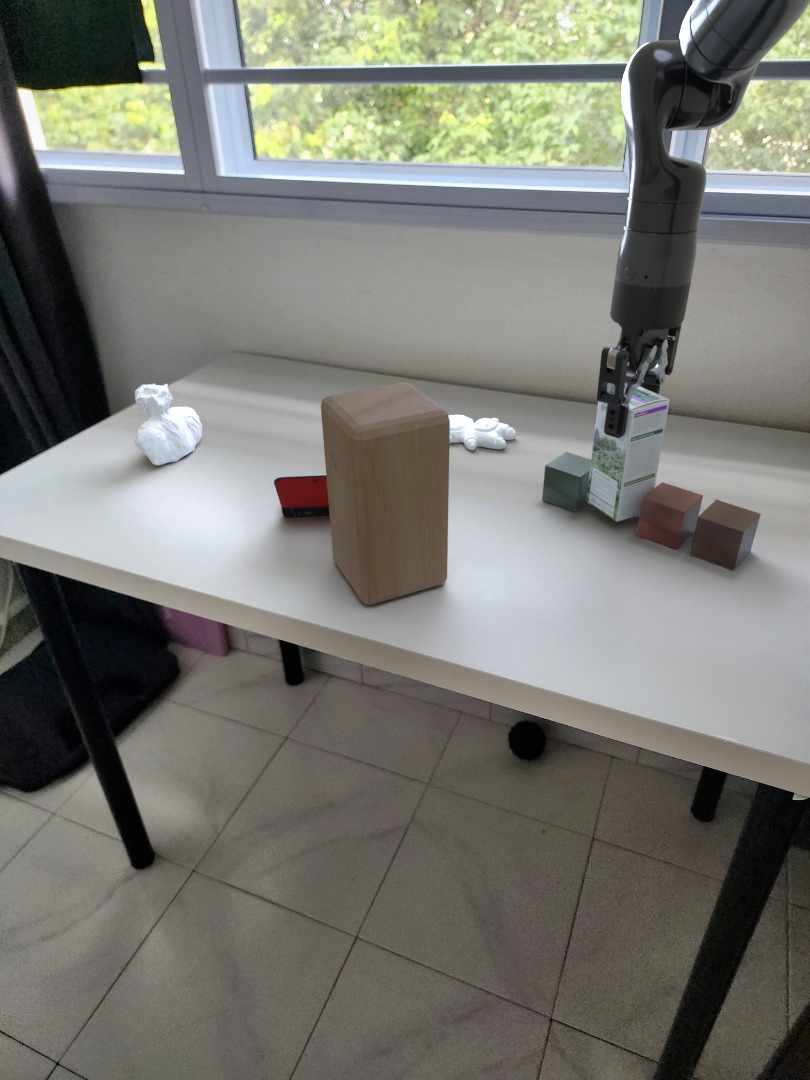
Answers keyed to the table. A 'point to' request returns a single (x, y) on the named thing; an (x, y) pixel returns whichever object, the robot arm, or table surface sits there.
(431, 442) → the wooden block
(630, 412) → the syrup box
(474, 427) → the astronaut figurine
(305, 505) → the handheld console
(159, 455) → the bust
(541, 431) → the table surface
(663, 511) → the block line
